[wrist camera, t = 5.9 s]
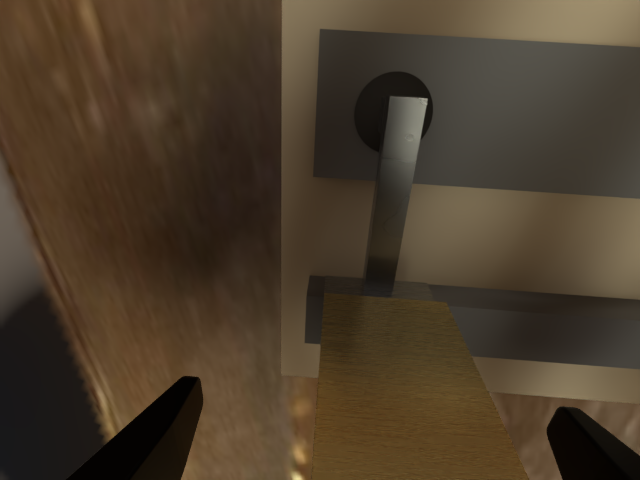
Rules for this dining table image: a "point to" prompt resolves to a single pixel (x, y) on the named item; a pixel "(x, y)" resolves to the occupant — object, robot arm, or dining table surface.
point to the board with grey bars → (475, 178)
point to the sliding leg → (400, 354)
